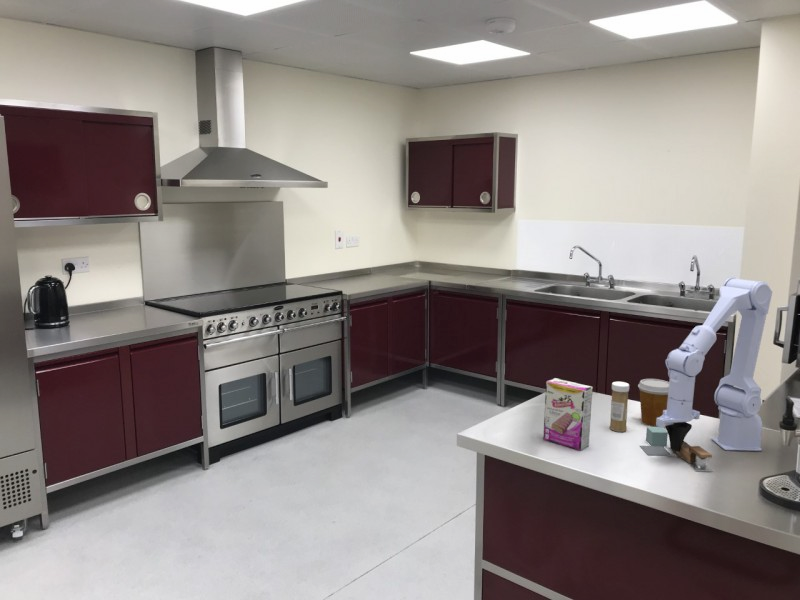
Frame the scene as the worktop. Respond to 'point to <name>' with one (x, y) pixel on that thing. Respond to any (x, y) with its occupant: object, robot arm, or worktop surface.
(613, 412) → the sprinkles bottle
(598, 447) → the worktop surface
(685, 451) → the leg
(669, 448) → the foot pad
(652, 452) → the seat pad
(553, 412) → the candy bar box
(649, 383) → the disposable coffee cup
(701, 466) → the flanged metal stem
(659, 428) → the block
